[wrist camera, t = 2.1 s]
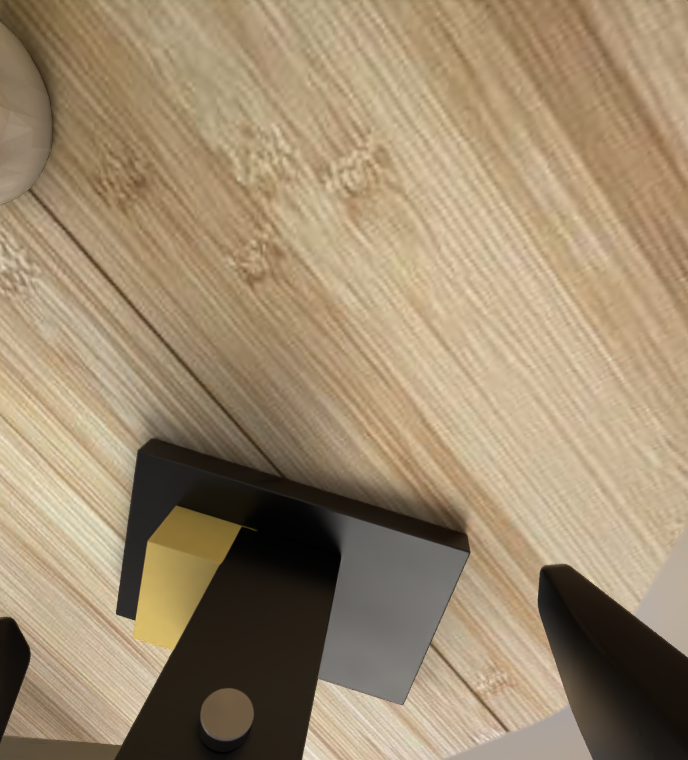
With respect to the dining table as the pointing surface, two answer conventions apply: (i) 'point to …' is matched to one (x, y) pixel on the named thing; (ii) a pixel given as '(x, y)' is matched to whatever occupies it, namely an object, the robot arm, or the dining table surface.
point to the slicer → (280, 607)
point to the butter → (179, 572)
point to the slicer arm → (54, 749)
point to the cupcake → (21, 119)
